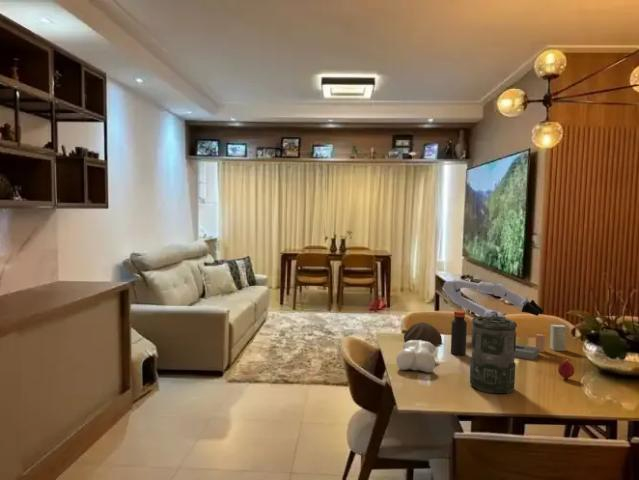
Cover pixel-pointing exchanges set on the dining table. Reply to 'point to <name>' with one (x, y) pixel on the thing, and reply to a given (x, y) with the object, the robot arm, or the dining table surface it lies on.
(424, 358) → the torso sculpture
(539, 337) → the rust peg
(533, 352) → the grey flat block
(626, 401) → the dining table surface
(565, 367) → the onion
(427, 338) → the decorative dome
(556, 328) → the skincare box
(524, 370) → the dining table surface
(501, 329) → the canister
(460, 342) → the bottle
